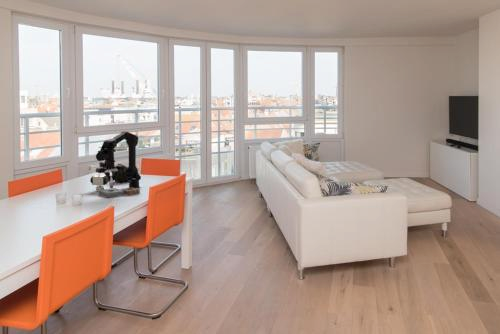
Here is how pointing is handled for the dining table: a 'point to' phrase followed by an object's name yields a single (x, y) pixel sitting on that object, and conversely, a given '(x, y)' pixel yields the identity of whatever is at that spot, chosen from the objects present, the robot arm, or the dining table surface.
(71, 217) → the dining table surface
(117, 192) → the socket plate
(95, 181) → the pneumatic valve
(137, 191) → the walnut mount
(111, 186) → the steel pin
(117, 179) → the squash
